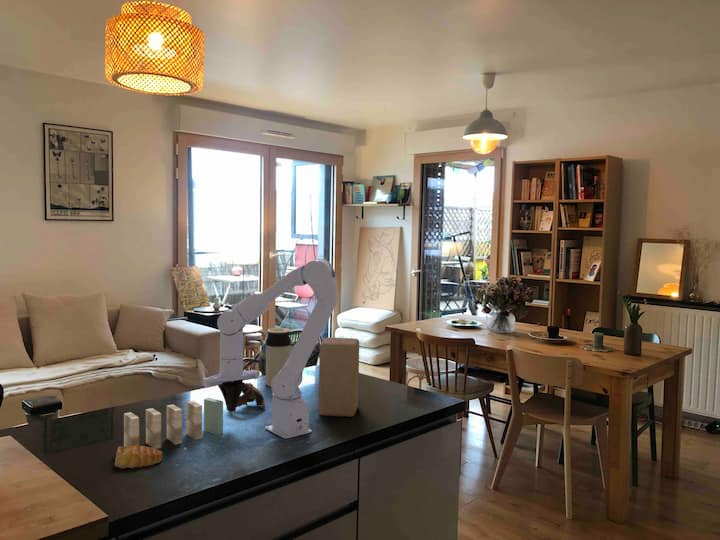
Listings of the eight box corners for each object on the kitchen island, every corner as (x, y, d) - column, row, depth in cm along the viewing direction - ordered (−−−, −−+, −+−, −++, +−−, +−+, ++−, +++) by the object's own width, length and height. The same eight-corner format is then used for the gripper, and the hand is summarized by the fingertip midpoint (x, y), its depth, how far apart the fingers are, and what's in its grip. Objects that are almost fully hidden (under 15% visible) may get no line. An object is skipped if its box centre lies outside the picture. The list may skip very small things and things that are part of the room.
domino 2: (161, 447, 134) (161, 413, 133) (154, 449, 133) (154, 414, 132) (152, 441, 138) (152, 408, 137) (145, 443, 137) (145, 409, 136)
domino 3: (182, 442, 137) (182, 409, 137) (175, 444, 136) (175, 410, 136) (173, 437, 141) (173, 404, 140) (166, 438, 140) (166, 405, 139)
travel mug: (267, 388, 185) (267, 332, 184) (264, 382, 193) (264, 328, 192) (292, 387, 188) (292, 331, 186) (288, 380, 195) (289, 327, 194)
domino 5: (222, 433, 144) (223, 401, 144) (218, 434, 143) (218, 402, 142) (208, 429, 147) (208, 397, 146) (203, 430, 146) (204, 399, 145)
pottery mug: (268, 415, 160) (254, 392, 158) (237, 430, 160) (222, 406, 158) (268, 392, 172) (255, 370, 169) (239, 406, 172) (225, 384, 169)
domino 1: (139, 452, 131) (139, 417, 130) (131, 454, 130) (131, 419, 129) (131, 446, 134) (130, 412, 134) (124, 447, 133) (123, 413, 133)
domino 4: (201, 438, 140) (202, 405, 140) (195, 439, 139) (195, 406, 139) (192, 432, 144) (192, 400, 144) (186, 434, 143) (186, 401, 143)
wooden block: (358, 407, 168) (359, 338, 166) (354, 418, 158) (356, 344, 157) (323, 405, 169) (324, 336, 167) (317, 416, 159) (319, 343, 158)
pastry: (163, 455, 130) (162, 438, 130) (161, 467, 123) (161, 450, 123) (117, 459, 127) (117, 442, 127) (113, 472, 121) (113, 454, 121)
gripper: (248, 351, 155) (248, 401, 156) (197, 358, 145) (197, 411, 146) (263, 355, 149) (262, 408, 150) (210, 363, 140) (210, 419, 141)
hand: (231, 410), depth 148 cm, fingers closed
